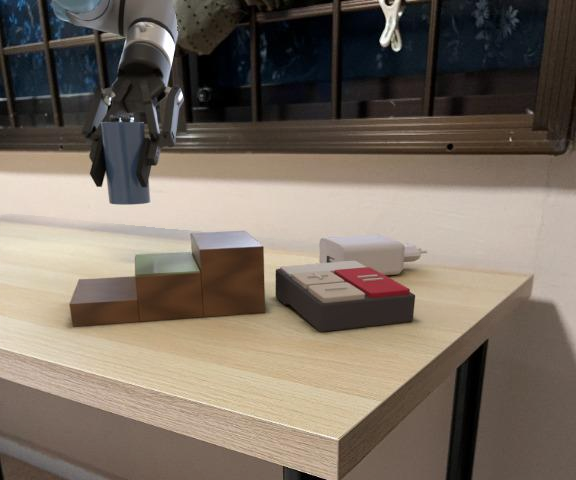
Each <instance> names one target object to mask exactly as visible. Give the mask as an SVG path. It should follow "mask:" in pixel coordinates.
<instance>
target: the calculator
mask: <svg viewBox="0 0 576 480" xmlns="http://www.w3.org/2000/svg"><path fill="white" fill-rule="evenodd" d="M275 298H276V299H277V300H278V301H280V303H282V304H283V305H284V306H290V307H292V309H294V310H295V311H296V312H297V313H298V314H299V315H300V316H302V318H304V319H305V320H306V321H307V322H308V323H310V324H311V325H312V326H313V328H315V329H316V330H317V331H319V332H322V333H325V332H333V331H342V330H350V329H359V328H369V327H377V326H383V325H393V324H402V323H410V322H412V321H413V320H414V313H415V303H416V294H415V293H412V292H411V288H409V287H407V286H405V285H403V284H401V283H399V282H397V281H396V280H395V279H393V278H391V277H389V276H388V275H383V274H381V273H380V272H378V271H376V270H374V269H372V268H370V267H366V266H364V265H362V264H360V263H358V262H357V261H344V262H331V263H319V262H318V263H309V264H295V265H283V266H280V267H279V268H276V269H275Z"/></svg>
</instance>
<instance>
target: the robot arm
mask: <svg viewBox="0 0 576 480" xmlns="http://www.w3.org/2000/svg"><path fill="white" fill-rule="evenodd" d="M51 6H52V8H53V13H54V15H55V16H56V18H57V19H59V20H61V21H64V22H68V23H70V24H73V25H74V26H76V27H85V28H88V29H92V30H96V31H100V32H105V33H109V34H112V35H115V36H119V37H122V38H125V41H124V44H123V45H124V46H123V49H122V53H121V55H120V60H119V64H118V67H117V76H116V79H115V81H114V82H113V83H112V85H111V87H107V88H102V86H101V85H99V84H96V85H94V86H93V99H92V102H91V105H90V107H89V110H88V112H87V116H86V118H85V121H84V125H83V127H82V130H81V134H82V137H83V139H84V140H85V142H86V145H87V146H88V147H89V148H90V150H89V154H88V156H89V160H90V162H91V166H90V172H89V176H90V177H91V179H92V181H93V183H94V184H95V186H96V188H102V187H103V185H104V184H103V183H104V180H105V176H106V169H105V160H104V151H103V141H102V132H101V122H111V121H110V119H109V118H110V116H111V115H117V116H122V115H129V116H132V114H133V113H137V112H139V113H144V114H145V117H146V123H147V129H148V136H149V137H145V138H144V140H143V144H142V149H141V153H140V158H139V162H138V167H137V171H136V175H137V178H138V180H139V182H140V184H141V186H142V187H147V184H148V180H149V181H150V175H151V171H152V166H153V167H155V166H157V165H158V163H159V159H160V155H161V150H162V149H163V148H164V147H168V148H173V147H175V146H176V139H177V131H178V130H177V129H178V122H179V121H178V120H179V114H180V108H181V106H182V105H183V103H184V100H185V98H184V94H183V92H182V89H181V86H180V85H179V84H173V85H172V86H171V87H170V86H168V83H169V79H170V75H171V69H172V64H173V61H174V60H173V59H174V54H175V50H176V44H177V41H178V37H179V33H178V31H177V26H178V25H177V19H176V14H175V11H174V8H173V3H172V0H51ZM164 99H166V102H165V110H164V117H163V125H162V132H161V131H160V126H159V120H158V114H157V113H158V112H157V109H156V107H157V106H158V105H159V104H160V103H161V102H163V100H164ZM111 101H112V104H111ZM110 105H111V106H110ZM109 106H110V107H109ZM108 107H109V108H108ZM108 109H109V110H108Z"/></svg>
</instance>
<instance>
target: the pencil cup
mask: <svg viewBox="0 0 576 480" xmlns="http://www.w3.org/2000/svg"><path fill="white" fill-rule="evenodd" d="M109 119H110V121H111V122H101V132H102V141H103V151H104V160H105V169H106V172H105V176H106V177H105V178H106V186H107V195H108V203H109V204H110V205H118V206H119V205H123V206H124V205H125V206H129V205H145V204H150V203H151V191H150V190H151V189H150V179H149V180H148V184H147V187H142V186H141V184H140V182H139V180H138V178H137V175H136V171H137V167H138V162H139V158H140V153H141V149H142V144H143V140H144V138H146V132H145V131H146V130H145V122H143V121H135V118H134V116H133V115H130V116H129V115H122V116H117V115H111V116H110V118H109Z"/></svg>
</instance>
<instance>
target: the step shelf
mask: <svg viewBox="0 0 576 480" xmlns="http://www.w3.org/2000/svg"><path fill="white" fill-rule="evenodd" d="M189 235H190V248H191V249H190V250H191V251H180V252H159V253H141V254H139V253H138V254H135V256H134V275H133V276H132V275H131V276H119V277H118V276H116V277H99V278H81V279H78V281H77V284H76V285H75V289H74V291H73V294H72V297H71V299H70V302H69V305H68V306H69V311H70V318H71V323H72V327H85V326H87V327H88V326H100V325H115V324H127V323H128V324H129V323H140V322H153V321H167V320H182V319H193V318H194V319H195V318H209V317H223V316H237V315H250V314H252V315H253V314H262V313H263V314H265V313H266V289H265V286H266V285H265V250H264V249H265V248H264V245H262V244H261V243H260V242H259V241H258V240H257V239H255V238H254V237H253V236H252V235H251V234H250V233H249V232H248V231H247V230H232V231H231V230H230V231H229V230H228V231H206V232H191V233H190V234H189Z"/></svg>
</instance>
